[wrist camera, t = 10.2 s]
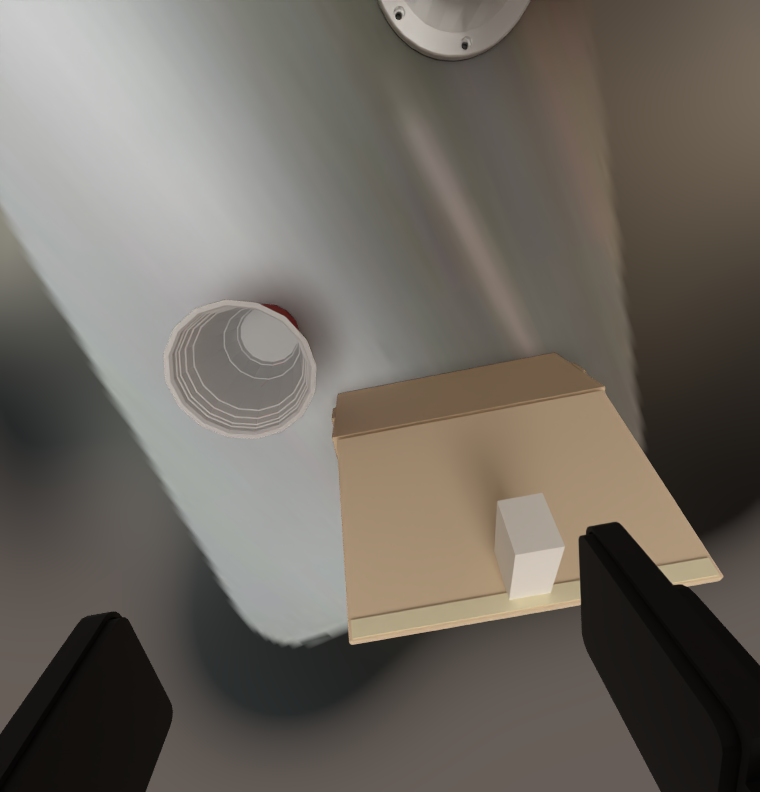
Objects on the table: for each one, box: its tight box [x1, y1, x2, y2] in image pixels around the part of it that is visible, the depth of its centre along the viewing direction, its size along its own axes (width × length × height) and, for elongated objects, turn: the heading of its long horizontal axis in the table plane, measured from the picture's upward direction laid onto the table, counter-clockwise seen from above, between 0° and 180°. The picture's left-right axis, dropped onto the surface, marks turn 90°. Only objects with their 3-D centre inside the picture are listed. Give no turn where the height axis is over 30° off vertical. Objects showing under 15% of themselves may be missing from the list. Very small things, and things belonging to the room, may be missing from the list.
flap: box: [337, 390, 723, 645], centre depth 29 cm, size 15×21×7 cm
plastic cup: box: [163, 300, 317, 439], centre depth 38 cm, size 11×11×12 cm
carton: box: [332, 353, 605, 459], centre depth 44 cm, size 16×22×10 cm
